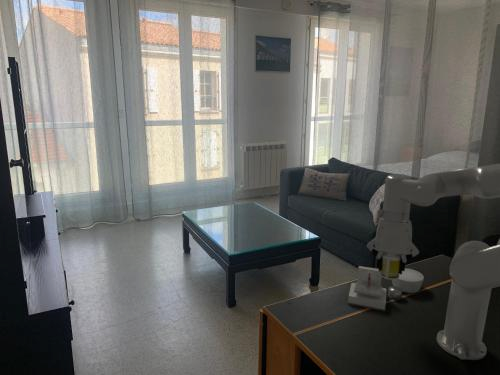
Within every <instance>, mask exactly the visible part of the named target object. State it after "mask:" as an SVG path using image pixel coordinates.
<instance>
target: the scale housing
mask: <svg viewBox="0 0 500 375" xmlns="http://www.w3.org/2000/svg"><path fill="white" fill-rule="evenodd" d="M357 268H358V270H357V280H356V282H362V283H368V284H373V285H379V286H382V278H383V277H382V276H381V271H379V268H375V267H367V266H360V265H358V267H357ZM356 282H351V284H350V289H349V293H348V300H347V304H348V305H351V306H352V305H353V306H357V307H362V308H367V309H374V310H378V311H382V312H386V303H387V288H384V287H382V292H381V297H377V296H371V295H366V294H360V293H355V292H354V289H355V284H356Z"/></svg>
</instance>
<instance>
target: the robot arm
mask: <svg viewBox="0 0 500 375" xmlns="http://www.w3.org/2000/svg"><path fill="white" fill-rule="evenodd" d="M453 196H454V197H455V196H473V197H477V198H479V199H486V200H487V199H496V198H500V163H493V164H488V165H482V166H475V167H469V168H467V167H466V168H459V169H458V168H457V169H452V170H445V171H440V172H433V173H429V174H426V175H423V176H421V177H420V178H416V179H413V178H412V176H410V175H407V174H402V173H391V174H388V175H387V176H386V178H385V180H384V192H383V204H382V209H377V215H379V216H380V217H379V219H378V222H377V227H376V231H375V232H376V234H375V237H373V238H372V239H371V240H370V241H368V242H367V244H366V248H368V250H369V251H371V252H372V254H373V255H374V256H375V258H376V259H377V260H376V268H378V269H379V271H381V265H382V255H383V253H384V252H385V253H392V254H400V256H401V261H400V271H399V274H401V275H402V271H405V268H406V263H407V262H408V261H410V260H411V259H412V258H414V257H416V256H417V255H419V254H420V250H419V249H418V248H417V246H416V245H415V243H413V242H412V239H413V226H412V225H413V224H412V221H411V220H410V212H411V204H413V205H416V206H418V207H429V206H432V205H434V204H435V203H436V202H437V200H439V199H440V198H444V197H445V198H446V197H453ZM449 275H450V278H451V283H450V290H449V294H448V302H447V308H446V312H445V313H446V315H445V322H444V329H443V330H439V331H438V332H437V335H436V343H437V344H438V345H439V347H441V349H443V350H444V351H445V352H447V353H448V354H450V355H452V356H454V357H457V358H459V359H460V360H467V361H468V360H470V361H478V360H482V359H484V357H486V355H487V347H486V345H485V343H484V342H483V338H484V337H483V336H484V332H485V325H486V320H487V314H488V309H489V308H488V307H489V304H490V298H491V293H492V289H493V288H497V287H500V238H499V239H498V241H497V243H496V245H492V246H489V244H487V243H486V242H483V241H479V240H470V241H466V242H464V243H463V244H461V245H460V246H459V247H458V249H457V250H456V251H455V253H454V256H453V258H452V260H451V262H450V265H449Z"/></svg>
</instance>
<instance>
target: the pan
mask: <svg viewBox="0 0 500 375" xmlns="http://www.w3.org/2000/svg"><path fill="white" fill-rule="evenodd" d="M355 283H356V284H355V289H354V292H355V293H360V294H366V295H371V296H377V297H381V292H382V288H383V286H382V285H381V286H379V285H373V284H368V283H362V282H357V281H355Z"/></svg>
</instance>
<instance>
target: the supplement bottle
mask: <svg viewBox="0 0 500 375" xmlns="http://www.w3.org/2000/svg"><path fill="white" fill-rule="evenodd" d="M401 258H402V257H401V255H400V254H392V253H385V252H383V254H382V265H381V276H382V278H383V279H385V280H388V281H389V280H390V281H392V280H396V279H398V278H399V271H400V261H401Z"/></svg>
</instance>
